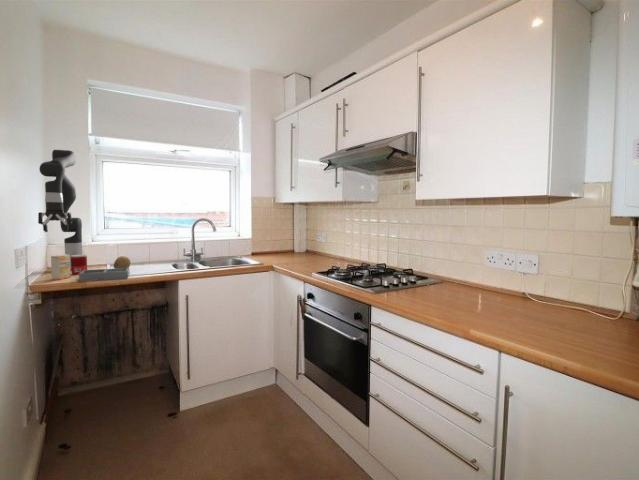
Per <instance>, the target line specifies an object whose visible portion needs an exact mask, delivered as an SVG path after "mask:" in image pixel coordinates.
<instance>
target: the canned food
mask: <svg viewBox="0 0 639 480" xmlns="http://www.w3.org/2000/svg"><path fill="white" fill-rule="evenodd" d="M83 270H88V256H87V254H82V255H72V256H71V270H70V274H72V275H74V276H75V275H77V274H78V275H79V273H80V272H82V271H83Z"/></svg>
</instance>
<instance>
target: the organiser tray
mask: <svg viewBox="0 0 639 480" xmlns="http://www.w3.org/2000/svg"><path fill="white" fill-rule="evenodd" d="M128 276H130V267H129V268H101V269H99V268H98V269H87V270H83V271H82V272H80V273H79V274H78V282H86V281H103V280H115V279H116V280H118V279H119V278H122V279H128V278H129V277H128Z"/></svg>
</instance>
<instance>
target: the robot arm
mask: <svg viewBox="0 0 639 480" xmlns="http://www.w3.org/2000/svg"><path fill="white" fill-rule="evenodd" d="M51 157H52V158H51V159H52V160H50V161H44V162H42V163H41V164H40V165H39V173H40V174H41V175H42V176H44V177H50V178H52V177H53V178H55V179H54V180H49V181H45V184H44V187H45V188H44V189H45V190H44V191H45V192H44V193H45V194H44V195H45V196H44V198H45V199H44V201H45V202H44V203H45V212H38V213H37V214H38V215H37V216H38V217H37V218H38V220H37V221H38V222H37V223H38V224H40V225H42V229H43V232H44V233H49V232H48V223H49V222H50V221H56V222H57V221H59V223H60V230H61V231H62V232H63V233H74V234H73V235H72V236H68V237H66V238H64V239H63V240H64V241H63V242H64V245H63V246H64V255H70V271H71V256H72V255H83V237H82V235H83V234H82V233H83V232H82V231H83V229H82V228H83V224H82V219H81V218H80V217H72V213H71V212H70V211H69V210H70V208H71V207H72V206H73V204H74V202H75V201H76V199H77V193H76V186H75V185H74V183H72V181H71V180H70V179H69V178H68V176H67V175H66V174H65V173H66V169H68V168H69V167H73V166H74V165H75V164H76V163H77V162H76V161H77V159H76V158H77V157H76V155H75V152H74V151H73V150H69V149H67V150H64V149H53V150H52V152H51ZM44 216H46V219H45V220H44V221H43V219H44V218H43V217H44Z"/></svg>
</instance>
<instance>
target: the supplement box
mask: <svg viewBox="0 0 639 480" xmlns="http://www.w3.org/2000/svg"><path fill="white" fill-rule="evenodd" d="M50 263H51V264H50V265H51V280H53V281H59V280H64V279H68V278H71V270H70V255H65V254H58V255H51V256H50Z"/></svg>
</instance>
